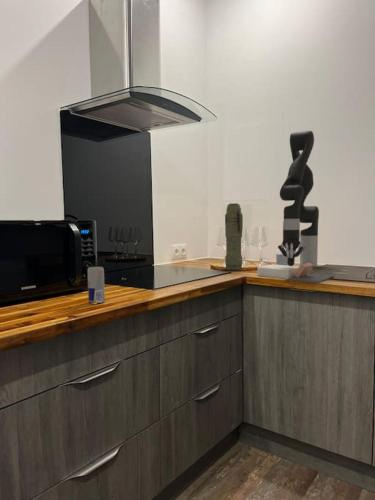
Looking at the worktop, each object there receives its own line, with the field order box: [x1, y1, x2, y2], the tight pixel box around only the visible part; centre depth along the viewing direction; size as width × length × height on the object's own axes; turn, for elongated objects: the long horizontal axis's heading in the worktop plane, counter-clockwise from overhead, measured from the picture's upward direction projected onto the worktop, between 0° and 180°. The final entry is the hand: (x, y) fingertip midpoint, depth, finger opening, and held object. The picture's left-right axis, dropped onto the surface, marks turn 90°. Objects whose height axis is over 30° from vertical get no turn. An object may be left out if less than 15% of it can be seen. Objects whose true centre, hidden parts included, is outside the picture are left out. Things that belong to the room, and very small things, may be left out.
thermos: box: [224, 202, 244, 272], centre depth 202 cm, size 9×12×35 cm
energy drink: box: [87, 266, 106, 304], centre depth 128 cm, size 5×5×12 cm
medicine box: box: [275, 253, 289, 266], centre depth 196 cm, size 8×4×9 cm, turn 84°
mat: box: [287, 273, 335, 284], centre depth 171 cm, size 18×14×1 cm
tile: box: [295, 262, 313, 277], centre depth 173 cm, size 9×6×2 cm
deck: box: [256, 264, 300, 280], centre depth 181 cm, size 14×16×4 cm
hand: (290, 265), depth 177 cm, fingers closed
